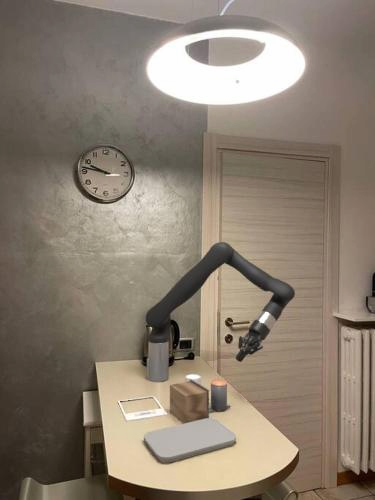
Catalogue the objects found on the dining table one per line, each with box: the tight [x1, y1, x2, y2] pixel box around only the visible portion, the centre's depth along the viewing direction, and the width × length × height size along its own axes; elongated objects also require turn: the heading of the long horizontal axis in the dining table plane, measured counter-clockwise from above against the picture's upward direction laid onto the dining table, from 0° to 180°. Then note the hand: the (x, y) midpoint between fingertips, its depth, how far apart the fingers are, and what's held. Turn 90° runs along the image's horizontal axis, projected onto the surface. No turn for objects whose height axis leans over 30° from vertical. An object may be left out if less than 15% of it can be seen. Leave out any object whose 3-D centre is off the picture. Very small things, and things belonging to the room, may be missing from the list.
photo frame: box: [117, 395, 168, 423], centre depth 138 cm, size 15×1×18 cm
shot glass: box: [184, 373, 202, 385], centre depth 153 cm, size 7×7×7 cm
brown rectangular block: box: [169, 379, 231, 424], centre depth 135 cm, size 21×12×11 cm, turn 119°
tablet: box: [143, 417, 237, 464], centre depth 114 cm, size 16×26×2 cm, turn 117°
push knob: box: [210, 378, 228, 411], centre depth 138 cm, size 6×6×9 cm
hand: (238, 360), depth 142 cm, fingers closed
